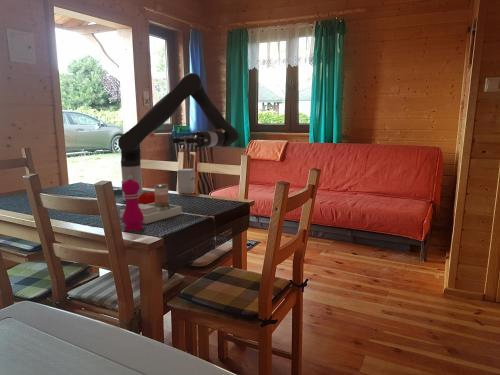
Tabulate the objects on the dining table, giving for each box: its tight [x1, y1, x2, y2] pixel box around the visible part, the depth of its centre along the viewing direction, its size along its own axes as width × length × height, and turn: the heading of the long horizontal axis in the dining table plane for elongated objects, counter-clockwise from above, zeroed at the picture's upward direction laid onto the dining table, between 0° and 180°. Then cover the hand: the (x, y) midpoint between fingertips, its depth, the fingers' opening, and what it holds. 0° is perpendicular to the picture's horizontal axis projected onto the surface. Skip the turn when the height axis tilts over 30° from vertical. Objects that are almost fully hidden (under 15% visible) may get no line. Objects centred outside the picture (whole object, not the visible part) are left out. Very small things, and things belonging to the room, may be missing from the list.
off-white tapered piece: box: [138, 204, 157, 215], centre depth 146 cm, size 10×6×5 cm, turn 53°
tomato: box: [138, 191, 155, 205], centre depth 170 cm, size 10×11×6 cm
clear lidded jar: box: [153, 183, 170, 212], centre depth 151 cm, size 6×6×12 cm
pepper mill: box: [121, 176, 144, 232], centre depth 131 cm, size 7×7×20 cm
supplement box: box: [177, 168, 196, 194], centre depth 203 cm, size 7×7×13 cm
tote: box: [119, 202, 183, 225], centre depth 150 cm, size 16×18×4 cm
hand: (179, 141), depth 160 cm, fingers open, 8 cm apart
